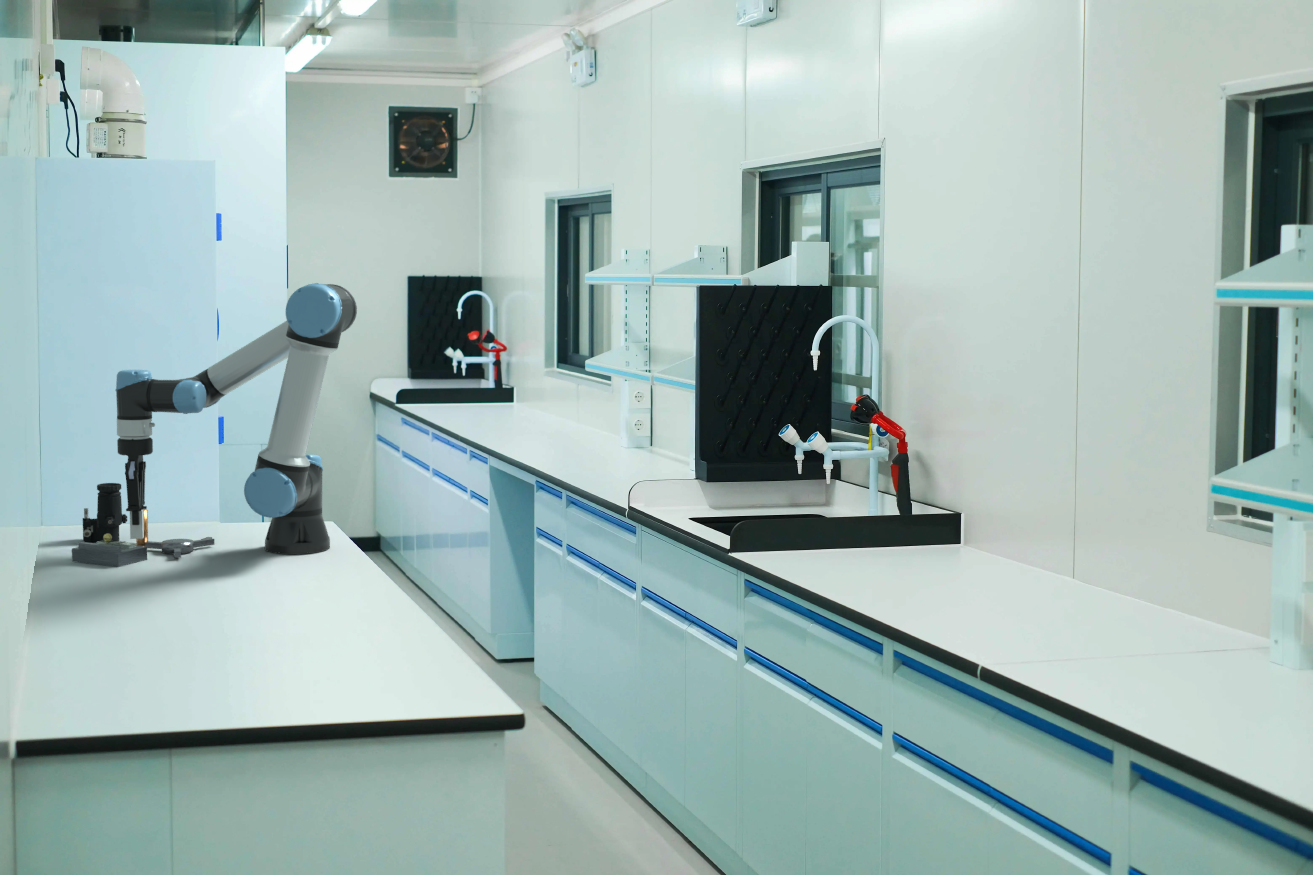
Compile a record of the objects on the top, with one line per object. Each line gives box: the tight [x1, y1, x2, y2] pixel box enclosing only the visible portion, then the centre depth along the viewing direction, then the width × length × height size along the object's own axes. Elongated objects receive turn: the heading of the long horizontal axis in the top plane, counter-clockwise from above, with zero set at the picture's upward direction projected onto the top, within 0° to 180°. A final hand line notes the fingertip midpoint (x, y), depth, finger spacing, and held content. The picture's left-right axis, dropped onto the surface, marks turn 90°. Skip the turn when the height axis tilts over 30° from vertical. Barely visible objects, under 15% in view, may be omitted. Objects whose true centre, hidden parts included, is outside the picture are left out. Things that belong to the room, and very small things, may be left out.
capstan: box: [135, 509, 215, 559], centre depth 301 cm, size 16×17×9 cm
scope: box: [82, 482, 128, 543], centre depth 311 cm, size 8×14×10 cm
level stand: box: [71, 534, 148, 568], centre depth 290 cm, size 13×9×6 cm
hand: (137, 537), depth 296 cm, fingers closed
